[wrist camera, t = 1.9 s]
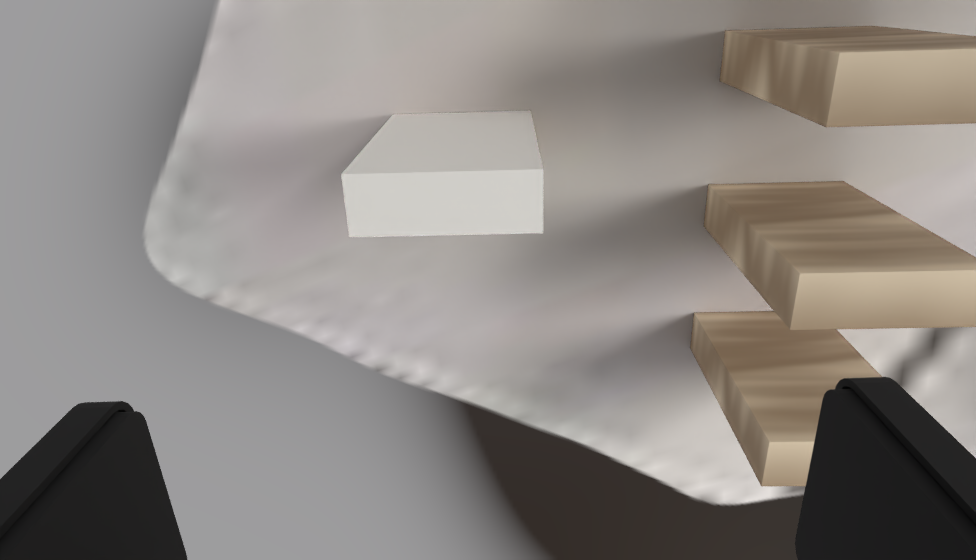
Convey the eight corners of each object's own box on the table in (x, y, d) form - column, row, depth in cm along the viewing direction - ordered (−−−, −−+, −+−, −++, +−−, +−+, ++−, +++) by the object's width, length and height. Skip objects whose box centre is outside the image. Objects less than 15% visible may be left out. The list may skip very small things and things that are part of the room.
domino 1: (724, 30, 27) (839, 52, 18) (873, 25, 27) (1067, 45, 17) (719, 81, 28) (826, 126, 18) (863, 76, 27) (1043, 121, 18)
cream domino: (392, 114, 28) (341, 174, 19) (530, 110, 28) (543, 169, 19) (396, 159, 29) (349, 237, 20) (530, 156, 29) (543, 233, 20)
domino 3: (694, 312, 32) (769, 442, 23) (817, 310, 32) (943, 440, 23) (690, 347, 33) (761, 486, 24) (810, 345, 33) (929, 484, 24)
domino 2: (708, 184, 29) (800, 273, 20) (843, 181, 29) (996, 269, 20) (703, 226, 30) (789, 329, 21) (835, 223, 30) (978, 326, 21)
